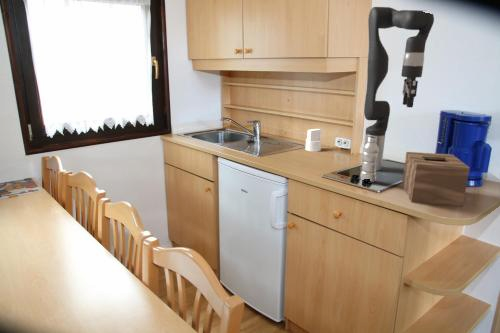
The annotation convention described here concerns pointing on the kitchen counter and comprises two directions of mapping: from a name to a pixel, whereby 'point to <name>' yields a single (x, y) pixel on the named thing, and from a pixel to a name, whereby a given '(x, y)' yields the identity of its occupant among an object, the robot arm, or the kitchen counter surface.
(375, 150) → the plastic bottle
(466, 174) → the walnut slot box
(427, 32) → the robot arm
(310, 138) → the cylinder with rectangular tab
